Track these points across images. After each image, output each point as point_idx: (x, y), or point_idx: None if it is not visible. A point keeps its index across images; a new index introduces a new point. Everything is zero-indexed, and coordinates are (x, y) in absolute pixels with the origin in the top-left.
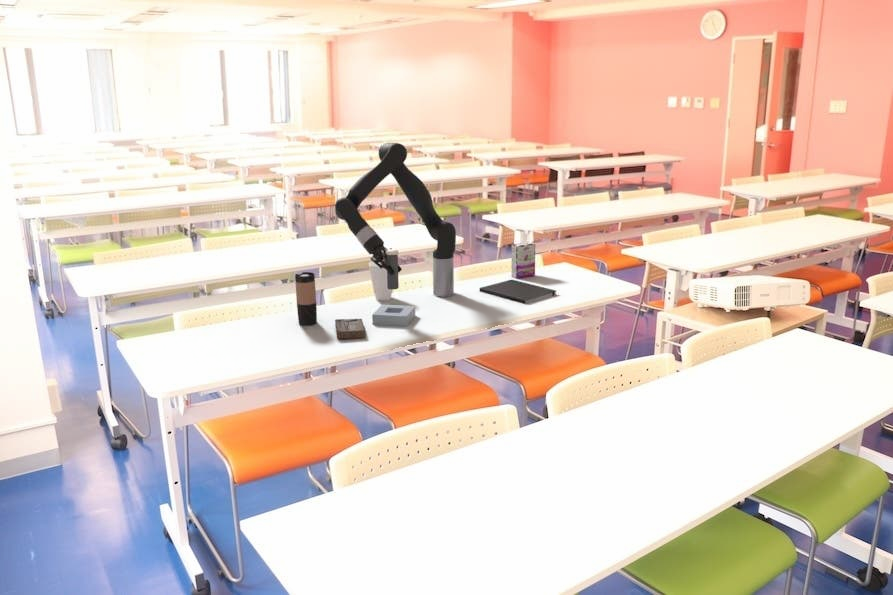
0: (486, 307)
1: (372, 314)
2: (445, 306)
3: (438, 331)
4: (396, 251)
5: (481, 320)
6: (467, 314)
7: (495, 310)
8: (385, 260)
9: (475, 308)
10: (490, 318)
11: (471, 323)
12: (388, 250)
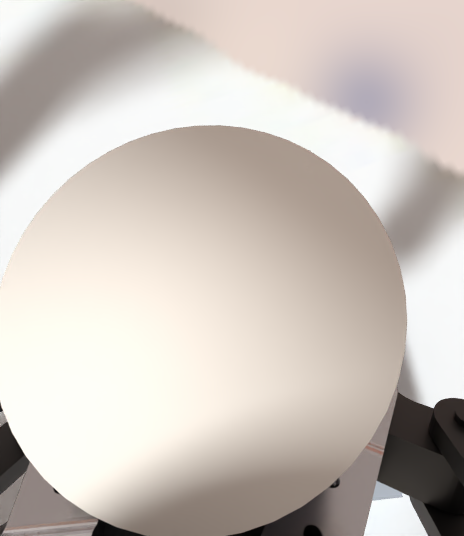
0: (6, 94)
1: (401, 495)
2: (11, 240)
3: (356, 142)
4: (248, 139)
5: (169, 57)
6: (107, 123)
7: (39, 57)
8: (367, 444)
9: (24, 124)
10: (137, 41)
11: (214, 74)
12: (185, 431)
